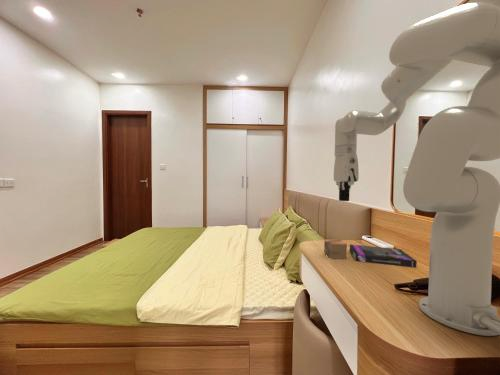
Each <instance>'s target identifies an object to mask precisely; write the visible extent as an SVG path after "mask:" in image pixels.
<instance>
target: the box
mask: <svg viewBox="0 0 500 375" xmlns="http://www.w3.org/2000/svg"><path fill="white" fill-rule="evenodd" d="M349 253H350V254H351V255H353V256H352V257H353V260H354V261H356V262H363V263H370V264H371V263H372V264H377V265H378V264H381V265H389V266H396V267H397V266H399V267H408V268H417V264H418V261H417V260H416V259H414V257H412V256H410V254H407V253H406V252H405V251H403V250H402V249H398V248H390V247H380V246H379V247H378V246H370V245H369V246H368V245H362V244H361V245H359V244H349Z"/></svg>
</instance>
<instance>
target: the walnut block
mask: <svg viewBox="0 0 500 375" xmlns="http://www.w3.org/2000/svg"><path fill="white" fill-rule="evenodd" d="M323 250H324V251H323V254H324V253H325V254H326V255H327V256H328V259H330V258H331V259H330V260H347V250H348V243H347V242H345V241H342V240H341V239H324V246H323ZM326 255H325V256H326ZM327 256H326V257H327Z"/></svg>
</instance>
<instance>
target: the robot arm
mask: <svg viewBox="0 0 500 375" xmlns="http://www.w3.org/2000/svg"><path fill="white" fill-rule="evenodd" d="M388 58H389V62H390V63H391V64H392V65H393V66H395V68H394V69H393V70H392V71H391V72H390V73H389V74H388V75H387V76H386V77H385V78H384V79H383V80H382V82H381V86H380V88H381V92H382V94H383V95H384V97H385V98H386V99H387V100H388V101H389V102H388V103H387V105H385V106H384V107H383V108H382V109H381V110H380V111H378V112H373V111H366V110H365V111H364V110H351V111H349V112H348V113H346V115H344V117H341V118H339V119H337V120H336V122H335V125H334V126H335V127H334V128H335V130H334V158H335V159H334V165H333V181H334V182H336V183H335V185H336V186H337V187H338V200H339V201H341V202H349V201H350V191H351V188H352V186H354V185H355V182H358V181H359V177H360V176H359V175H360V174H359V159H358V154H357V146H358V145H357V142H358V140H357V138H358V137H357V136H358V135H365V136H366V135H367V136H377V135H380V134H382V133H384V132H386V131H387V130H388V129H390V128H391V127H392V126H393V125H395V124H396V123H397V122H398V121H399V120H400V119H401V116H402V115H403V113H404V110H405V108H406V105H407V100H408V99H409V98H411V97H412V96H413V95H415V94H416V92H418V90H420V89H422V87H424V86H425V85H426V84H427V83H428V82H430V80H432V79H433V78H435V76H436V75H438V74H439V73H440V72H441V71H442V70H444V69H445V68H446V67H447V66H448V65H450V64H451V63H452V62H453V61H454V60H455V61H458V62H462V63H466V64H467V63H468V64H473V65H477V66H484V67H488V68H490V69H488V70H487V71H486V72H485V73H484V75H482V77H480V79H479V80H478V82H477V83H476V85H475V86H474V88H473V90H472V93H471V96H470V98H469V101H468V104H467V106H466V105H457V106H456V105H455V106H451V107H447V108H444V109H442V110H440V111H439V112H436V114H435V115H433V116H432V117H431V118H430V119H429V120H428V121H427V122H426V124H425V125H424V126H423V128H422V130H421V132H420V133H419V136H418V138H417V141H416V144H415V148H414V149H413V152H412V155H411V159H410V162H409V165H408V168H407V170H406V173H405V176H404V179H403V186H402V188H403V189H402V192H403V195H404V198H405V201H406V202H407V203H408V204H409V205H410V206H411V207H412V208H414V209H416V210H418V211H420V212H421V211H422V212H429V213H436V214H435V215H434V218H433V219H432V223H431V226H430V238H429V240H430V241H429V242H430V243H429V268H428V270H429V271H428V294H427V295H428V296H425V297H422V298H420V299H419V300H418V301H419V302H418V306H419V308H420V311H422V312H423V313H424V314H425V315H426V316H427V317H429V318H431V319H433V320H434V321H436V322H438V323H440V324H441V325H444V326H447V327H449V328H451V329H455V330H457V331H461V332H464V333H469V334H472V335H476V336H477V335H478V336H484V337H491V336H493V337H494V336H498V335H499V336H500V317H499V316H498V308H497V307H496V306H494V305H492V304H491V303H492V302H491V301H492V300H491V299H492V281H493V280H492V279H493V278H492V277H493V276H492V275H493V251H494V250H493V249H494V234H495V233H494V232H495V225H496V224H495V223H496V219H497V214H498V211H499V207H500V182H499V181H498V179H497V178H496V177H495V176H494V175H493V174H492V173H490V172H489V171H486V170H484V169H481V168H478V167H472V166H467V163H468V161H472V162H490V161H495V160H499V159H500V6H498V5H494V4H492V3H486V2H483V1H482V2H480V1H476V2H475V1H474V2H467V3H464V4H459V5H458V6H455V7H452V8H450V9H447V10H445V11H442V12H440V13H438V14H435V15H432V16H430V17H427V18H425V19H422V20H420V21H418V22H415V23H413V24H412V25H410V26H409V27H407V28H406V29H404V30H403V31H402V32H401V33H399V35H397V37H396V38H395V39H394V41H393V42H392V44H391V47H390V49H389V54H388Z"/></svg>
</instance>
